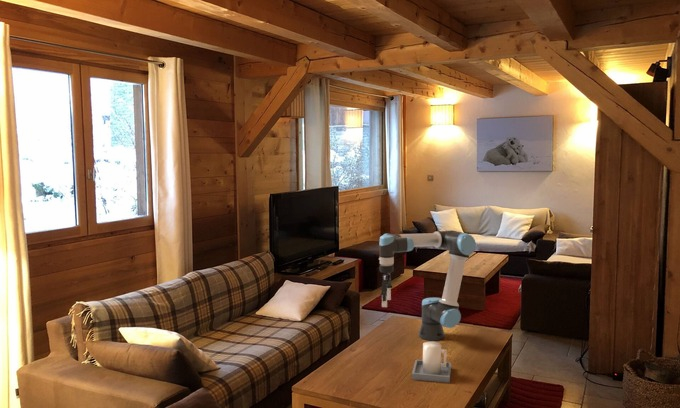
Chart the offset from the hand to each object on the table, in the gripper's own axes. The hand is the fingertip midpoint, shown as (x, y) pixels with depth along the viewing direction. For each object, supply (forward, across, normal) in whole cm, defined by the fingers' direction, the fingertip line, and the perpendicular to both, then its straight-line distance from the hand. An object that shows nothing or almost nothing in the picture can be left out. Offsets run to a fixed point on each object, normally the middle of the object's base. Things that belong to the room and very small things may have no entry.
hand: (386, 303), depth 304 cm
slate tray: (+29, +20, +26) cm, 44 cm away
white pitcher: (+28, +20, +27) cm, 44 cm away
